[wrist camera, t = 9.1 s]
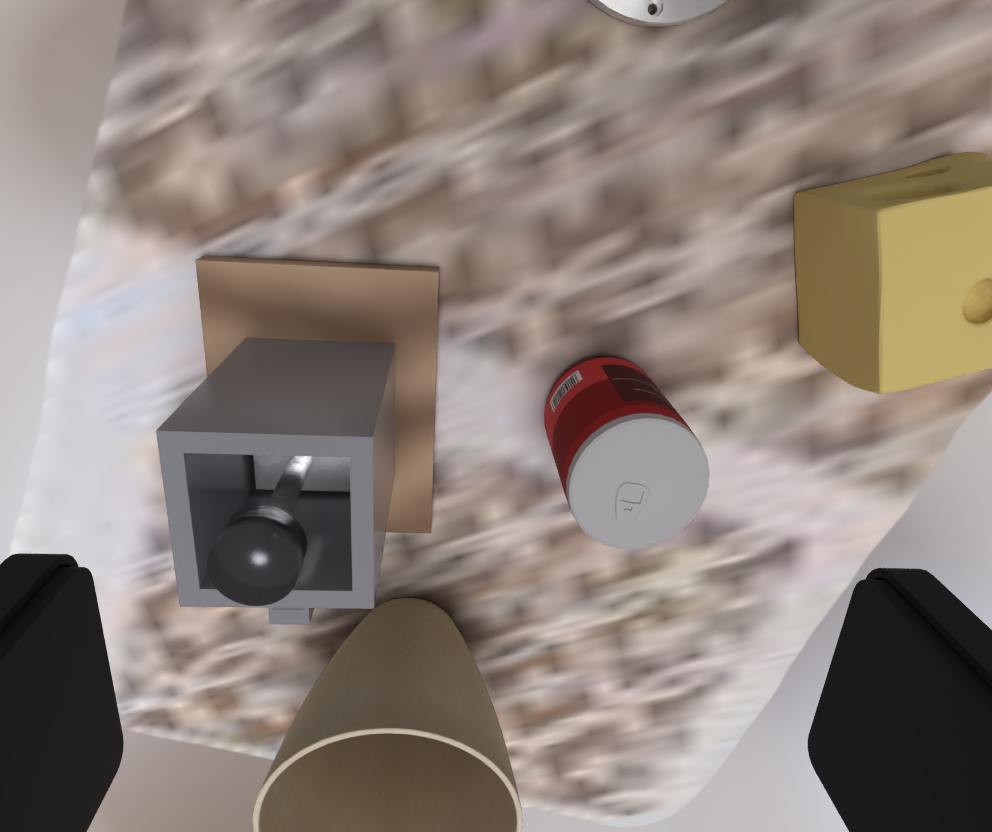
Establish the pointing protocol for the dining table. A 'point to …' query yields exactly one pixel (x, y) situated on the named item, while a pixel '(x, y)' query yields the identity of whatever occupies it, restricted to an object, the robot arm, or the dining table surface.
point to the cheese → (898, 274)
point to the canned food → (624, 455)
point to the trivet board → (341, 317)
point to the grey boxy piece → (286, 432)
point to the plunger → (271, 530)
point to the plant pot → (394, 737)
